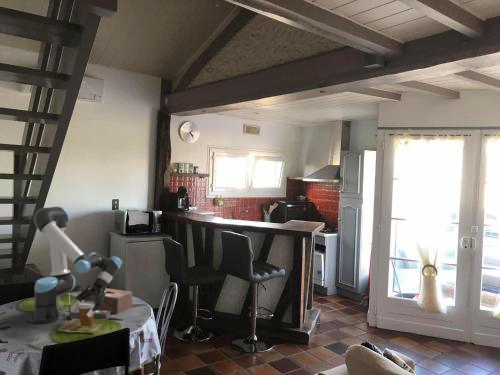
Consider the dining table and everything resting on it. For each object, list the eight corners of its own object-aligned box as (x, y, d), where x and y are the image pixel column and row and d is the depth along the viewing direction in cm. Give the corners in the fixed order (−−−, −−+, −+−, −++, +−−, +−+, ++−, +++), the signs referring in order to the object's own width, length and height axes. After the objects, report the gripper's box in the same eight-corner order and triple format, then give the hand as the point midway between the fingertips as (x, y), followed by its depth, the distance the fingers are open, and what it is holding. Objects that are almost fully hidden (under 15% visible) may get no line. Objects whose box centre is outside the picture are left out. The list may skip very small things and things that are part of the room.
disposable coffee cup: (76, 328, 216) (76, 305, 216) (79, 322, 225) (79, 301, 225) (94, 326, 218) (94, 304, 218) (97, 321, 227) (97, 300, 228)
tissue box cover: (83, 308, 254) (84, 292, 254) (99, 302, 268) (99, 287, 267) (117, 314, 245) (117, 298, 245) (131, 307, 259) (132, 292, 259)
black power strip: (69, 318, 234) (69, 311, 234) (74, 315, 240) (75, 308, 240) (121, 321, 232) (121, 314, 232) (125, 318, 238) (125, 310, 238)
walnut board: (58, 331, 215) (58, 328, 215) (73, 321, 231) (73, 318, 231) (94, 333, 214) (94, 331, 214) (107, 323, 230) (107, 320, 230)
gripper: (121, 287, 229) (99, 321, 216) (92, 281, 241) (69, 312, 229) (114, 280, 224) (91, 314, 212) (84, 274, 237) (61, 306, 224)
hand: (80, 313), depth 220 cm, fingers open, 13 cm apart
